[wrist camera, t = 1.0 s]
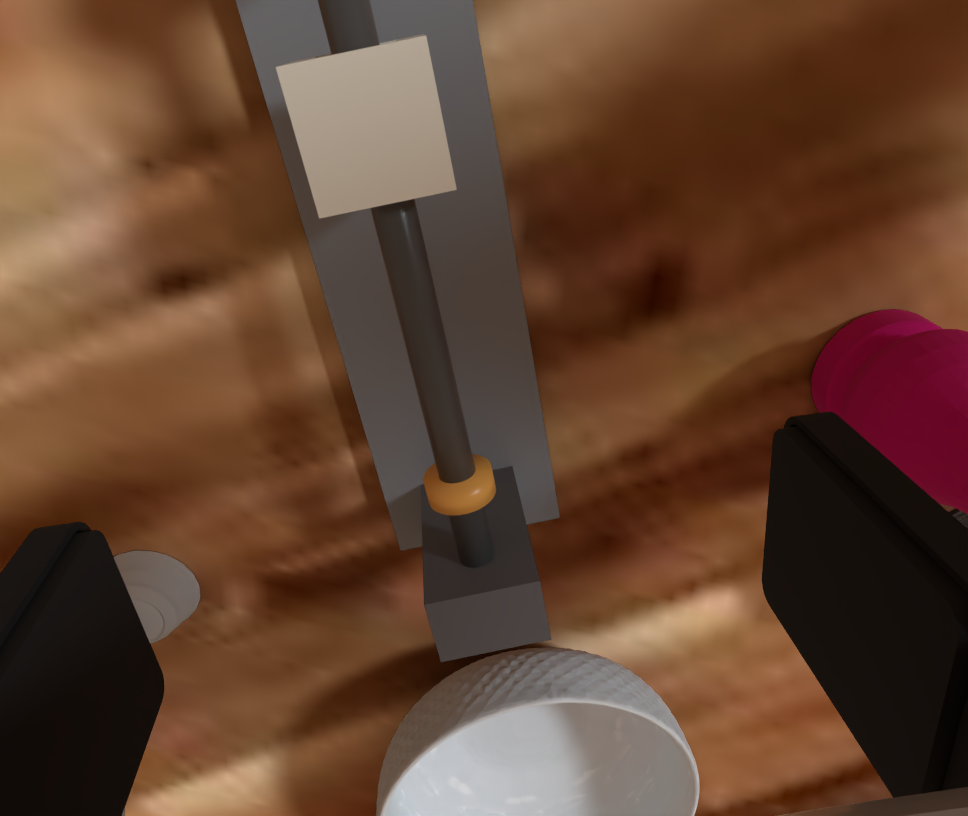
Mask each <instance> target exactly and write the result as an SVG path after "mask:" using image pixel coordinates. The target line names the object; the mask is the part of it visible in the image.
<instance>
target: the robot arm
mask: <svg viewBox="0 0 968 816" xmlns="http://www.w3.org/2000/svg"><path fill="white" fill-rule="evenodd" d="M762 585H763V590H764V594H765V597H766V600H767V602H768V604H769V605H770V607H771V609H772V610H773V612H774V613H775V615H776V616H777V618H778V619H779V621H780V623H781V624H782V626H783V627H784V629H785V630H786V632H787V633H788V635H789V637H790V638H791V640H792V641H793V643H794V644H795V646H796V647H797V649H798V650H799V652H800V654H801V655H802V657H803V658H804V660H805V661H806V663H807V664H808V666H809V667H810V669H811V671H812V672H813V674H814V675H815V677H816V678H817V680H818V681H819V683H820V685H821V686H822V688H823V689H824V691H825V692H826V694H827V695H828V697H829V698H830V700H831V702H832V703H833V705H834V706H835V708H836V709H837V711H838V712H839V714H840V716H841V717H842V719H843V720H844V722H845V723H846V725H847V726H848V728H849V729H850V731H851V733H852V734H853V736H854V737H855V739H856V740H857V742H858V743H859V745H860V747H861V748H862V750H863V751H864V753H865V754H866V756H867V757H868V759H869V760H870V762H871V764H872V765H873V767H874V768H875V770H876V771H877V773H878V774H879V776H880V778H881V779H882V781H883V782H884V784H885V785H886V787H887V788H888V790H889V791H890V793H891V795H892V796H893V798H888V799H881V800H874V801H867V802H861V803H854V804H847V805H840V806H834V807H828V808H822V809H815V810H809V811H803V812H797V813H791V814H785V815H779V816H968V529H967V528H966V527H965V526H964V525H963V524H962V523H960V522H959V521H958V520H957V519H956V518H955V517H954V516H952V515H951V514H950V513H949V512H948V511H947V510H946V509H944V508H943V507H942V506H941V505H940V504H939V503H938V502H936V501H935V500H934V499H933V498H932V497H931V496H930V495H928V494H927V493H926V492H925V491H924V490H923V489H922V488H920V487H919V486H918V485H917V484H916V483H915V482H914V481H912V480H911V479H910V478H909V477H908V476H907V475H906V474H904V473H903V472H902V471H901V470H900V469H899V468H898V467H896V466H895V465H894V464H893V463H892V462H891V461H890V460H888V459H887V458H886V457H885V456H884V455H883V454H882V453H880V452H879V451H878V450H877V449H876V448H875V447H874V446H872V445H871V444H870V443H869V442H868V441H867V440H866V439H864V438H863V437H862V436H861V435H860V434H859V433H858V432H856V431H855V430H854V429H853V428H852V427H851V426H850V425H848V424H847V423H846V422H845V421H844V420H843V419H842V418H840V417H839V416H838V415H837V414H835V413H834V412H822V413H815V414H808V415H802V416H795V417H790V418H789V419H788V420H787V421H786V423H785V425H784V428H783V429H778V430H777V431H776V432H775V434H774V437H773V445H772V458H771V470H770V483H769V496H768V508H767V521H766V533H765V546H764V559H763V571H762ZM163 695H164V678H163V674H162V670H161V668H160V666H159V663H158V661H157V659H156V656H155V654H154V652H153V649H152V647H151V644H150V642H149V640H148V637H147V635H146V633H145V630H144V628H143V626H142V623H141V621H140V618H139V616H138V614H137V611H136V609H135V607H134V604H133V602H132V600H131V597H130V595H129V593H128V590H127V588H126V585H125V583H124V581H123V578H122V576H121V574H120V571H119V569H118V567H117V564H116V562H115V559H114V557H113V555H112V552H111V550H110V548H109V545H108V543H107V541H106V539H105V537H104V535H103V534H102V533H101V532H100V531H97V530H94V531H91V530H90V528H89V527H88V526H87V525H86V524H85V523H82V522H75V523H68V524H62V525H55V526H48V527H41V528H37V529H34V530H33V531H32V532H31V533H30V534H29V535H28V537H27V538H26V539H25V541H24V542H23V543H22V545H21V546H20V547H19V549H18V550H17V552H16V553H15V554H14V556H13V557H12V558H11V560H10V561H9V562H8V564H7V565H6V567H5V568H4V569H3V571H2V572H1V573H0V816H122V813H123V811H124V808H125V805H126V802H127V799H128V796H129V794H130V791H131V788H132V785H133V782H134V779H135V776H136V774H137V771H138V768H139V765H140V762H141V759H142V757H143V754H144V751H145V748H146V745H147V742H148V740H149V737H150V734H151V731H152V728H153V725H154V723H155V720H156V717H157V714H158V711H159V708H160V706H161V703H162V699H163Z"/></svg>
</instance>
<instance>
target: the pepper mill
mask: <svg viewBox="0 0 968 816" xmlns="http://www.w3.org/2000/svg"><path fill="white" fill-rule="evenodd" d="M811 391H812V398H813V401H814V404H815V406H816V408H817V409H818V411H819V412H820V413H822V412H834V413H835V414H837V415H838V416H839V417H840V418H842V419H843V420H844V421H845V422H846V423H847V424H848V425H850V426H851V427H852V428H853V429H854V430H855V431H856V432H858V433H859V434H860V435H861V436H862V437H863V438H864V439H866V440H867V441H868V442H869V443H870V444H871V445H872V446H874V447H875V448H876V449H877V450H878V451H879V452H880V453H882V454H883V455H884V456H885V457H886V458H887V459H888V460H890V461H891V462H892V463H893V464H894V465H895V466H896V467H898V468H899V469H900V470H901V471H902V472H903V473H904V474H906V475H907V476H908V477H909V478H910V479H911V480H912V481H914V482H915V483H916V484H917V485H918V486H919V487H920V488H922V489H923V490H924V491H925V492H926V493H927V494H928V495H930V496H931V497H932V498H933V499H934V500H935V501H936V502H938V503H939V504H942V505H947V506H951V507H954V508H956V509H958V510H960V511H962V512H964V513H966V514H968V332H967V331H962V330H958V329H942V328H940V327H939V326H937V325H935V324H934V323H932V322H930V321H928V320H927V319H925V318H923V317H921V316H920V315H918V314H915V313H912V312H909V311H904V310H897V309H890V310H881V311H876V312H873V313H870V314H867V315H865V316H862V317H860V318H857V319H855V320H854V321H852V322H851V323H849V324H848V325H847V326H845V327H844V328H842V329H841V330H839V331H838V332H837V333H836V335H835V336H834V337H833V338H832V339H831V340H830V341H829V342H828V343H827V344H826V345H825V347H824V349H823V350H822V352H821V354H820V355H819V357H818V359H817V361H816V364H815V368H814V371H813V374H812V379H811Z"/></svg>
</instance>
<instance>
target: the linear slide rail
mask: <svg viewBox="0 0 968 816" xmlns="http://www.w3.org/2000/svg"><path fill="white" fill-rule="evenodd" d="M235 1H236V4H237V7H238V11H239V14H240V17H241V21H242V24H243V27H244V31H245V34H246V37H247V41H248V44H249V47H250V51H251V54H252V57H253V61H254V64H255V67H256V71H257V74H258V77H259V81H260V84H261V87H262V91H263V94H264V97H265V101H266V104H267V107H268V111H269V114H270V117H271V121H272V124H273V127H274V131H275V134H276V137H277V141H278V144H279V147H280V151H281V154H282V157H283V161H284V164H285V167H286V171H287V174H288V177H289V181H290V184H291V187H292V191H293V194H294V197H295V201H296V204H297V207H298V211H299V214H300V217H301V221H302V224H303V227H304V231H305V234H306V237H307V241H308V244H309V247H310V251H311V254H312V257H313V261H314V264H315V267H316V271H317V274H318V277H319V281H320V284H321V287H322V291H323V294H324V297H325V301H326V304H327V307H328V311H329V314H330V317H331V321H332V324H333V327H334V331H335V334H336V337H337V341H338V344H339V347H340V351H341V354H342V357H343V361H344V364H345V367H346V371H347V374H348V377H349V381H350V384H351V387H352V391H353V394H354V397H355V401H356V404H357V407H358V411H359V414H360V417H361V421H362V424H363V427H364V431H365V434H366V437H367V441H368V444H369V448H370V451H371V454H372V458H373V461H374V464H375V468H376V471H377V474H378V478H379V481H380V484H381V488H382V491H383V494H384V498H385V501H386V504H387V508H388V511H389V514H390V518H391V521H392V524H393V528H394V531H395V534H396V538H397V541H398V544H399V548H400V551H402V550H407V549H412V548H417V547H422V549H423V583H424V606H425V610H426V613H427V616H428V620H429V623H430V627H431V630H432V633H433V637H434V640H435V644H436V647H437V651H438V654H439V657H440V661H441V662H445V661H450V660H455V659H459V658H464V657H469V656H474V655H479V654H484V653H488V652H493V651H498V650H503V649H508V648H513V647H517V646H522V645H527V644H532V643H537V642H542V641H546V640H551V635H550V630H549V625H548V620H547V615H546V609H545V604H544V599H543V594H542V589H541V584H540V579H539V575H538V571H537V566H536V562H535V558H534V554H533V550H532V545H531V541H530V537H529V533H528V529H527V525H528V524H533V523H537V522H542V521H547V520H552V519H557V518H560V514H559V508H558V502H557V496H556V490H555V485H554V479H553V473H552V467H551V461H550V455H549V449H548V443H547V437H546V431H545V425H544V419H543V413H542V408H541V402H540V396H539V390H538V384H537V378H536V372H535V366H534V360H533V354H532V348H531V342H530V336H529V331H528V325H527V319H526V313H525V307H524V301H523V295H522V289H521V283H520V277H519V271H518V265H517V259H516V253H515V248H514V242H513V236H512V230H511V224H510V218H509V212H508V206H507V200H506V194H505V188H504V182H503V176H502V171H501V165H500V159H499V153H498V147H497V141H496V135H495V129H494V123H493V117H492V111H491V105H490V99H489V93H488V88H487V82H486V76H485V70H484V64H483V58H482V52H481V46H480V40H479V34H478V28H477V22H476V16H475V11H474V5H473V0H235ZM421 34H424V35H426V37H427V42H428V47H429V52H430V57H431V62H432V67H433V72H434V77H435V82H436V87H437V92H438V97H439V102H440V108H441V113H442V118H443V123H444V128H445V133H446V138H447V143H448V148H449V153H450V158H451V163H452V168H453V173H454V178H455V183H456V188H457V190H454V191H449V192H444V193H440V194H435V195H430V196H425V197H420V198H416V199H411V200H406V201H401V202H396V203H392V204H387V205H382V206H377V207H373V208H368V209H363V210H358V211H353V212H349V213H344V214H339V215H334V216H329V217H325V218H320V219H319V216H318V213H317V209H316V206H315V202H314V199H313V195H312V192H311V188H310V185H309V181H308V178H307V174H306V171H305V167H304V164H303V161H302V157H301V154H300V150H299V147H298V143H297V140H296V136H295V133H294V129H293V126H292V122H291V119H290V115H289V112H288V108H287V105H286V102H285V98H284V95H283V91H282V88H281V84H280V81H279V77H278V74H277V70H276V67H277V66H280V65H284V64H287V63H290V62H293V61H297V60H302V59H306V58H311V57H316V56H321V55H325V54H330V53H331V55H333V54H338V53H343V52H347V51H352V50H357V49H362V48H366V47H371V46H376V45H380V43H383V42H387V41H392V40H397V39H402V38H406V37H411V36H416V35H421Z"/></svg>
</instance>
